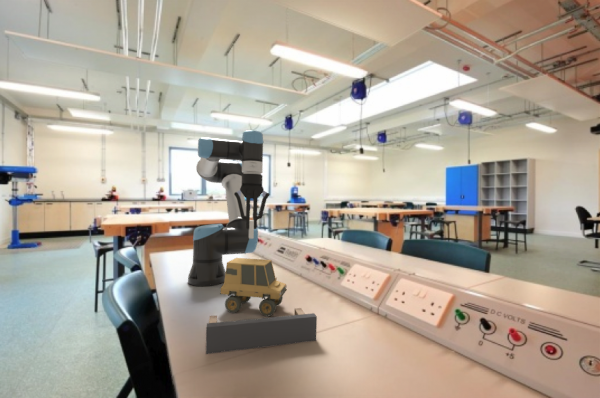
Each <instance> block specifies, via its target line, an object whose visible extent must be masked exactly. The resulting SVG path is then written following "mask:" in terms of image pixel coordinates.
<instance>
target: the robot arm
mask: <svg viewBox="0 0 600 398" xmlns="http://www.w3.org/2000/svg"><path fill="white" fill-rule="evenodd" d="M241 136H242V138H241V140H230V139H221V138H211V137H200V138H198V141H197V155H198V157H199V158H200V160H199V161H197V164H196V172H197V174H198V176H199V177H201V178H202V179H203V180H205V181H207V182H209V183H214V184H215V183H216V184H221V186H222V188H224V189H225V196H226V197H225V198H226V206H227V214H228V215H227V216H228V222H227V224H226V226H224V225H223V223H212V224H205V225H201V226H198V227H197V226H196V227H195V228H194V230H193V238H192V244H193V249H192V265H191V268H190V271H189V273H188V277H187V278H188V279H187V283H188V285H191V286H195V287H197V286H198V287H210V286H211V287H212V286H216V285H221V284H224V280H225V273H226V268H225V266H224V263H223V255H224V256H225V255H240V254H244V255H246V254H252V253H254V252H255V251H256V249H257V246H258V241H259V229H258V224H257V223H258V222H257V221H258V220H259V219H260V220H261V219H262V218H263V215H264V210H265V206H266V203H267V199H268V198H269V197H270V193H269V192H267V191H265V190H264V187H263V174H262V173H263V169H264V168H263V159H264V158H263V153H264V135H263V132H261V131H259V130H252V129H251V130H245V131H243V132H242V135H241ZM260 196H261V197H262V200H261V203H260V207H259V210H258V199H259V198H260ZM251 200H252V203H253V205H252V219H251V217H250V216H251Z"/></svg>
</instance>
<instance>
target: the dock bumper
mask: <svg viewBox="0 0 600 398" xmlns="http://www.w3.org/2000/svg"><path fill="white" fill-rule="evenodd" d="M317 319H318V318H317V315H316V314H315V313H314V312H312V313H305V314H301V315H294V314H293V315H282V316H273V317H272V316H269V317H261V318H250V319H240V320H231V321H230V320H228V321H220V322H219V321H217V323H209V322H208V323H206V333H205V335H206V337H205V339H206V340H205V355H207V354H208V355H209V354H218V353H225V352H235V351H243V350H249V349H259V348H268V347H275V346H282V345H292V344H299V343H308V342H314V341H315V342H316V341H317V328H318V327H317V324H318V321H317Z"/></svg>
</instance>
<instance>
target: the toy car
mask: <svg viewBox="0 0 600 398" xmlns="http://www.w3.org/2000/svg"><path fill="white" fill-rule="evenodd" d="M225 272H226V273H225V280H224V282H223V283H222V284H223V285H222V286H221V287H220V293H219V295H227V296H228V297H227V298H226V300H225V303H224V306H225V309H226V310H227V312H229V313H232V314H233V313H237V312H238V311H240V309H241V308H242V304H247V302H249V301H250V299H251V298H260V299H261V301H260V303H259V305H258V311H259V313H260V314H261V315H262V316H264V317H272V316H273V314H274V313H275V312H276V310H277V307H278V306H279V305H281V303H282V302H283V299H284V297H283V296H284V295H285V293H286V292H287V284H286V283H284V282H282V281H279V280H277V278H278V277H277V276H276V274H275V270H274V265H273V260H271V259H262V258H261V259H259V258H243V257H235V258H233V259H231V260H229V261H227V262H226V267H225Z"/></svg>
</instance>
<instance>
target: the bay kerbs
mask: <svg viewBox="0 0 600 398" xmlns="http://www.w3.org/2000/svg"><path fill="white" fill-rule="evenodd" d="M301 314H306V313H305V312H304V310H303V309H302V307H296V308H295V307H294V314H293V315H301ZM208 318H209V319H208V323H217V322H218V314H217V315H209V317H208Z"/></svg>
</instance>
